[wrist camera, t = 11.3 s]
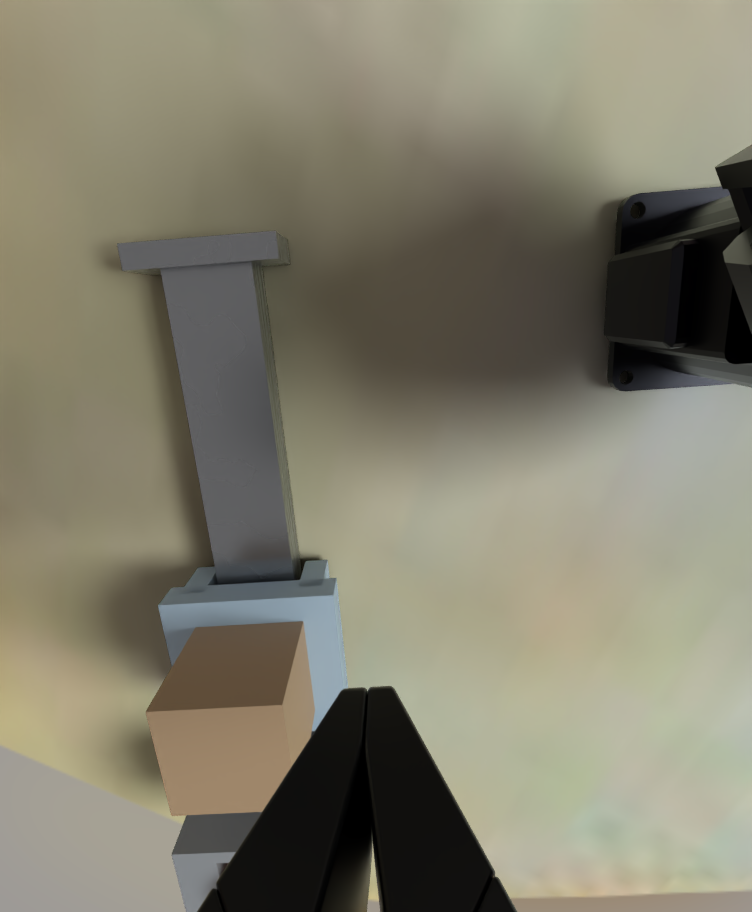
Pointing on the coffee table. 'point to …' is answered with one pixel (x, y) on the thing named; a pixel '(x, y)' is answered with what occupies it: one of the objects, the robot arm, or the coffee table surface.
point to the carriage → (243, 686)
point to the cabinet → (207, 851)
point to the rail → (230, 394)
